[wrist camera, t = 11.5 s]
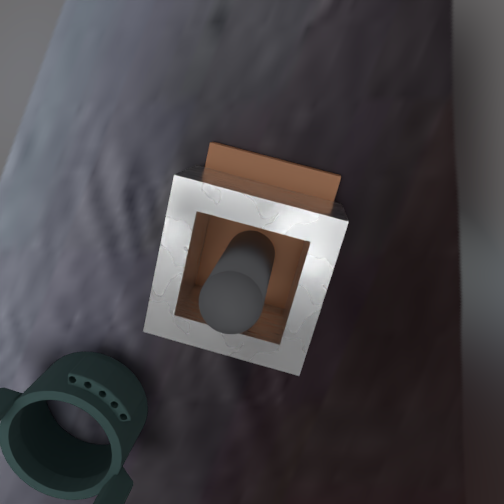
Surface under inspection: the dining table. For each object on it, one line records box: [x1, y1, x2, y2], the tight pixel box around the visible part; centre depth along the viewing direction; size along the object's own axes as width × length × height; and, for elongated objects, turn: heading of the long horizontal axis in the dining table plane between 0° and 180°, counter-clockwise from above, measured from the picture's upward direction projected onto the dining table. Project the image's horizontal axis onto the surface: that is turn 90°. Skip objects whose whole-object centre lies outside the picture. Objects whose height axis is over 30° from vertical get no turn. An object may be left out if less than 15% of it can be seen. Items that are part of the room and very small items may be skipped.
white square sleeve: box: [143, 165, 349, 376], centre depth 27 cm, size 9×9×5 cm
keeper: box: [195, 142, 341, 334], centre depth 25 cm, size 8×12×10 cm, turn 166°
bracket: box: [0, 352, 148, 504], centre depth 31 cm, size 9×9×9 cm
